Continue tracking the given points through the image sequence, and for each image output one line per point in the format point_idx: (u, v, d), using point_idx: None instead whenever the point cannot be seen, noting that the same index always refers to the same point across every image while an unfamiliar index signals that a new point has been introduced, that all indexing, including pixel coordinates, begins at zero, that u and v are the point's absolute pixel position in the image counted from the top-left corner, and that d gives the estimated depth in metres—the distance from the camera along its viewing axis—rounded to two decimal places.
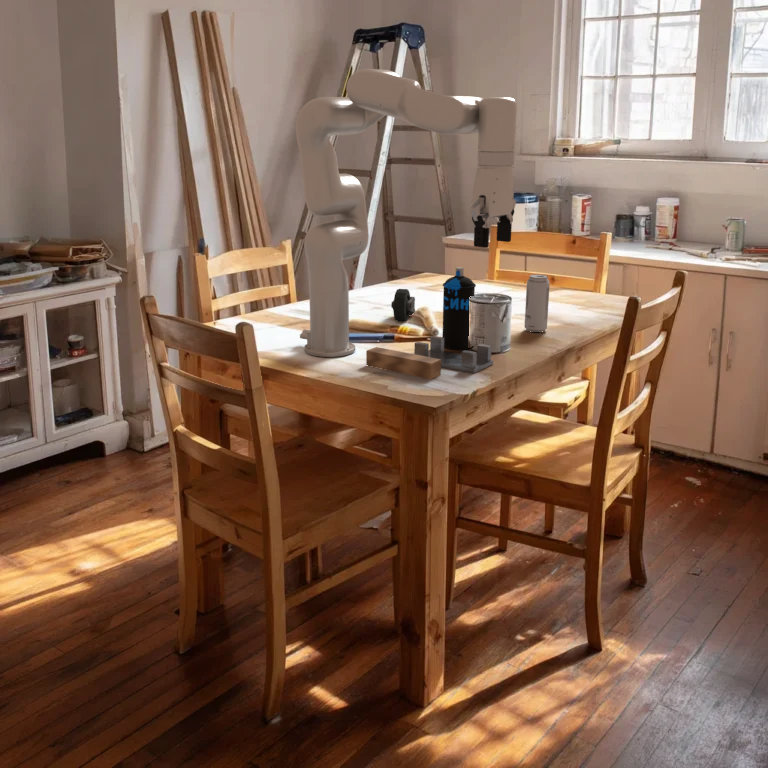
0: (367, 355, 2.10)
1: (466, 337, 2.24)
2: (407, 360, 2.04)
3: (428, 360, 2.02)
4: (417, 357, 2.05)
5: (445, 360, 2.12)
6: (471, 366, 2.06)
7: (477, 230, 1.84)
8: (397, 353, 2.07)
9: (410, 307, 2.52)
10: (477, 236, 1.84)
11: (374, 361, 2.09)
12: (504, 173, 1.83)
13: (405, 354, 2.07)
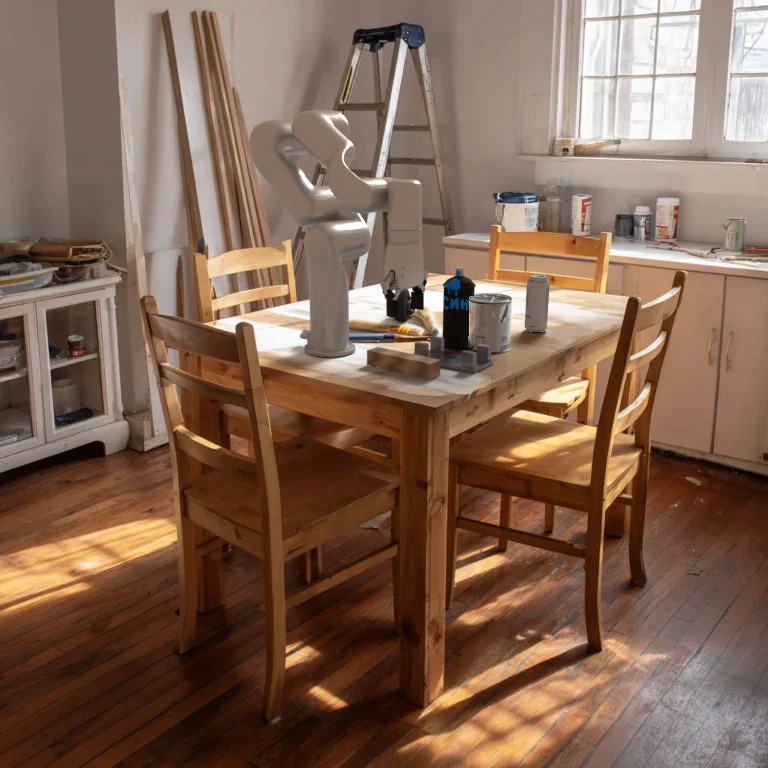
0: (367, 355, 2.10)
1: (466, 337, 2.24)
2: (406, 360, 2.03)
3: (427, 361, 2.02)
4: (417, 357, 2.04)
5: (445, 360, 2.12)
6: (471, 366, 2.06)
7: (388, 302, 1.98)
8: (397, 353, 2.07)
9: (410, 307, 2.52)
10: (388, 307, 1.98)
11: (374, 361, 2.09)
12: (412, 249, 1.97)
13: (405, 354, 2.07)
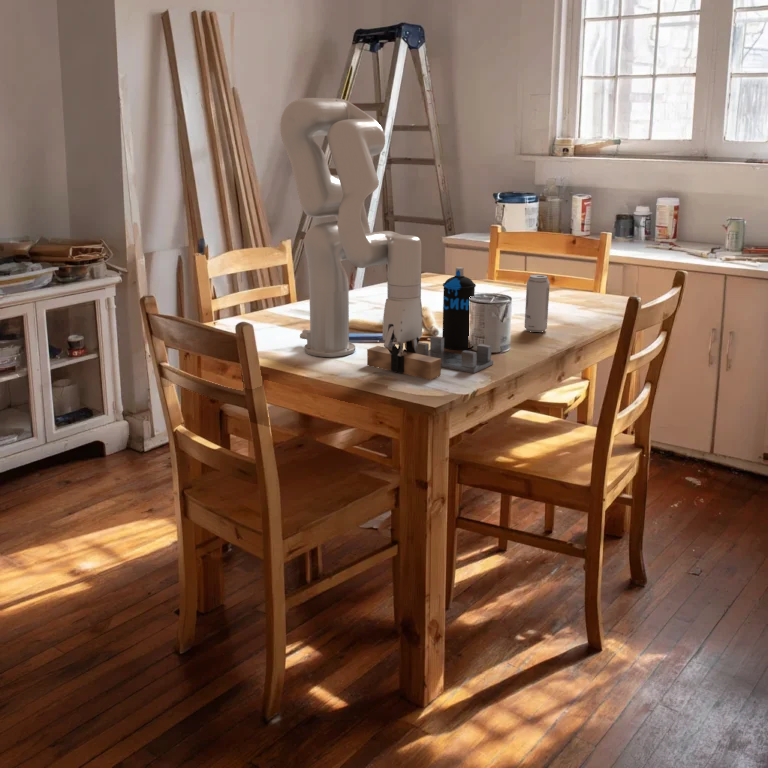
0: (368, 354, 2.10)
1: (466, 337, 2.24)
2: (407, 359, 2.03)
3: (428, 360, 2.01)
4: (418, 356, 2.04)
5: (445, 360, 2.12)
6: (471, 366, 2.06)
7: (393, 357, 2.04)
8: None
9: None
10: (393, 363, 2.04)
11: (374, 360, 2.09)
12: (411, 304, 2.01)
13: (405, 353, 2.07)
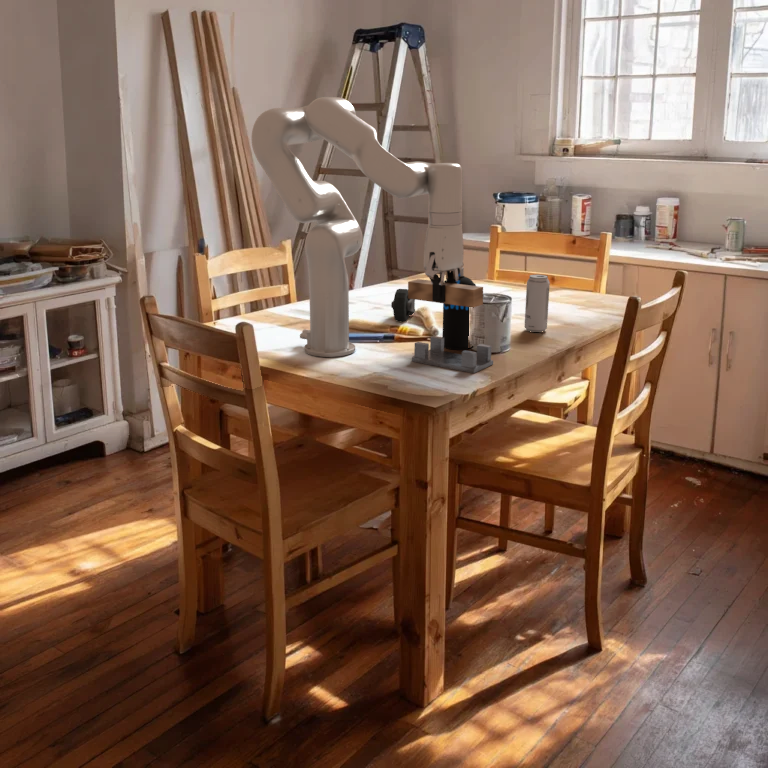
0: (409, 286, 2.10)
1: (466, 337, 2.24)
2: (449, 288, 2.03)
3: (470, 288, 2.01)
4: (459, 285, 2.04)
5: (445, 360, 2.12)
6: (471, 366, 2.06)
7: (434, 287, 2.04)
8: None
9: (410, 307, 2.52)
10: (435, 292, 2.04)
11: (415, 292, 2.09)
12: (452, 232, 2.00)
13: (447, 283, 2.06)
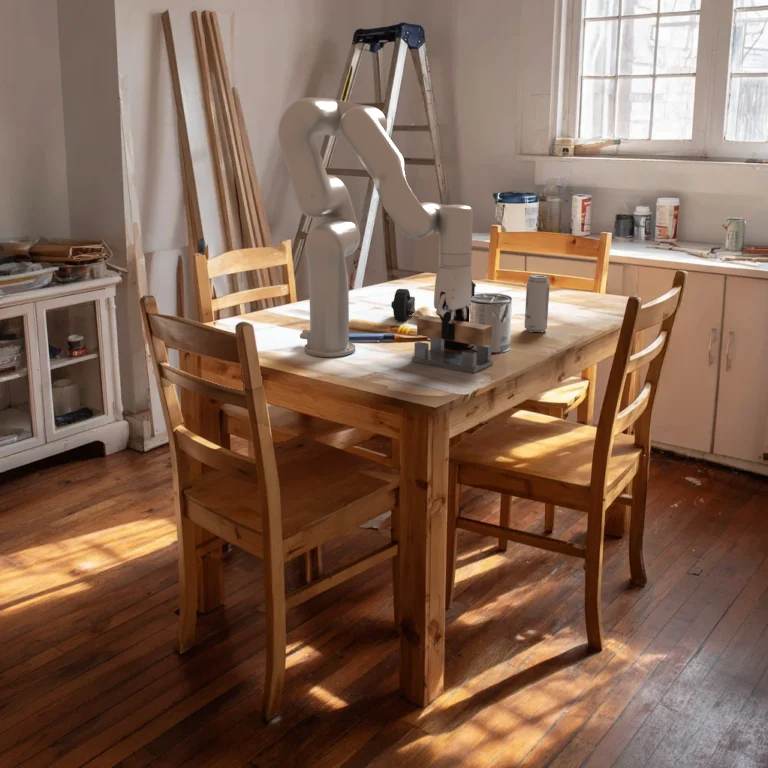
0: (418, 323, 2.14)
1: None
2: (458, 326, 2.08)
3: (479, 327, 2.06)
4: (468, 323, 2.09)
5: (445, 360, 2.12)
6: (471, 366, 2.06)
7: (444, 325, 2.08)
8: None
9: (410, 307, 2.52)
10: (444, 330, 2.09)
11: (424, 328, 2.13)
12: (462, 272, 2.05)
13: (456, 321, 2.11)
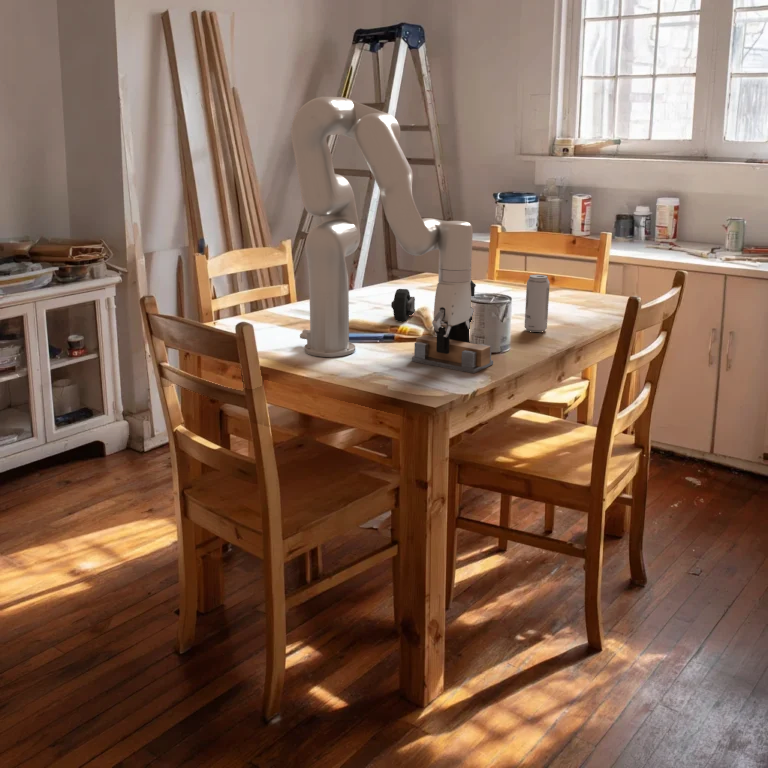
0: None
1: None
2: (457, 347, 2.09)
3: (478, 347, 2.07)
4: (467, 344, 2.10)
5: (445, 360, 2.12)
6: (471, 366, 2.06)
7: (439, 338, 2.07)
8: None
9: (410, 307, 2.52)
10: (439, 344, 2.08)
11: None
12: (462, 288, 2.06)
13: (454, 341, 2.12)
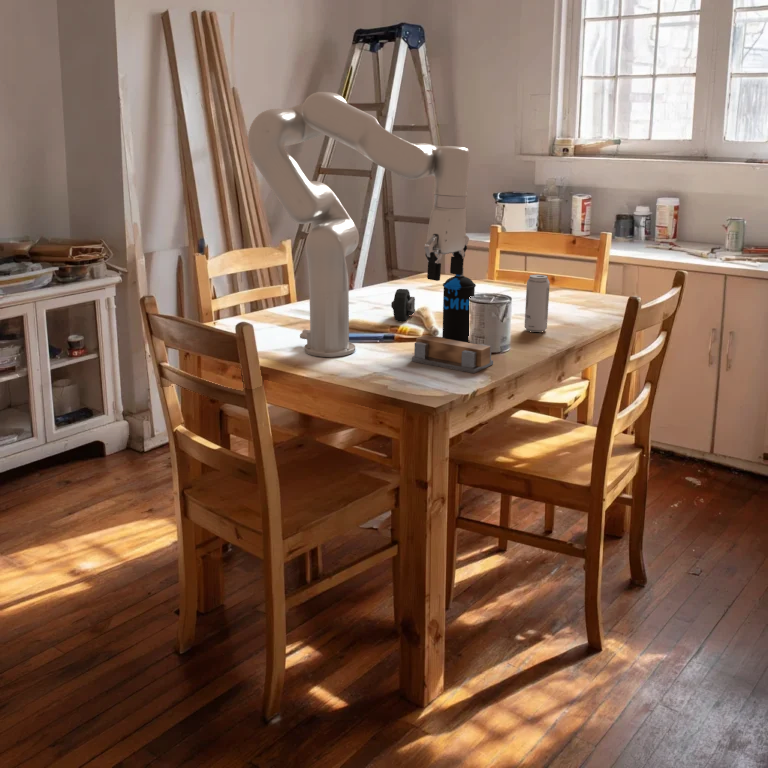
0: None
1: (466, 337, 2.24)
2: (457, 347, 2.09)
3: (478, 347, 2.07)
4: (467, 344, 2.10)
5: (445, 360, 2.12)
6: (471, 366, 2.06)
7: (430, 265, 2.04)
8: (447, 341, 2.13)
9: (410, 307, 2.52)
10: (430, 270, 2.04)
11: None
12: (456, 215, 2.03)
13: (454, 341, 2.12)
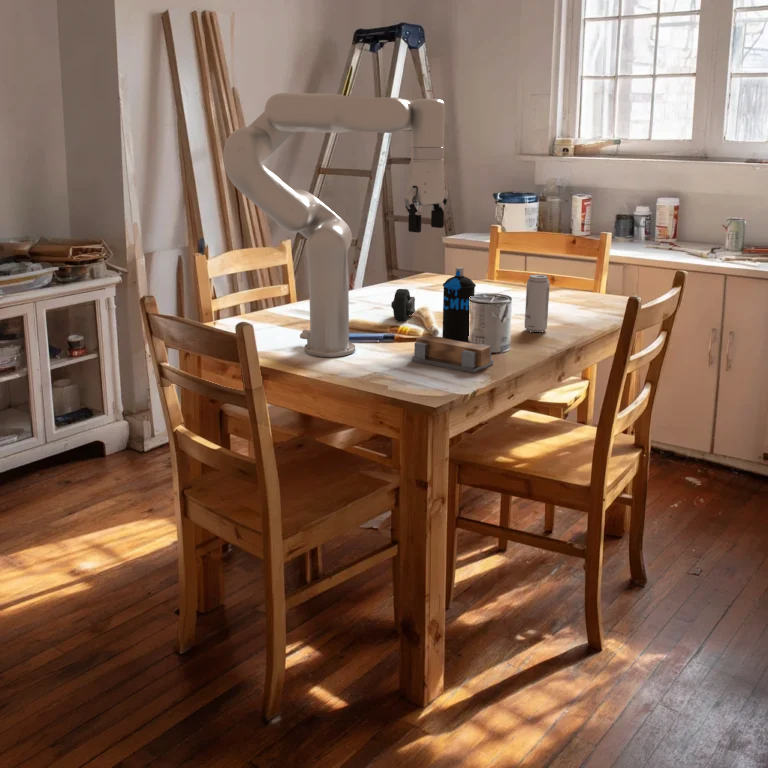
0: None
1: (466, 337, 2.24)
2: (457, 347, 2.09)
3: (478, 347, 2.07)
4: (467, 344, 2.10)
5: (445, 360, 2.12)
6: (471, 366, 2.06)
7: (411, 217, 2.07)
8: (447, 341, 2.13)
9: (410, 307, 2.52)
10: (411, 222, 2.07)
11: None
12: (434, 166, 2.06)
13: (454, 341, 2.12)
